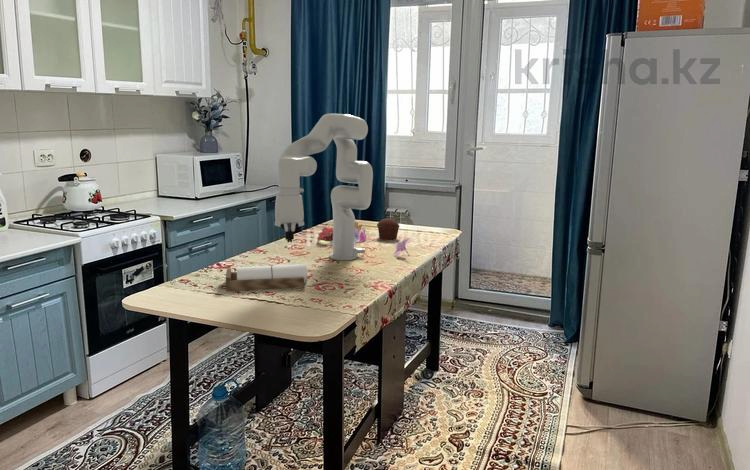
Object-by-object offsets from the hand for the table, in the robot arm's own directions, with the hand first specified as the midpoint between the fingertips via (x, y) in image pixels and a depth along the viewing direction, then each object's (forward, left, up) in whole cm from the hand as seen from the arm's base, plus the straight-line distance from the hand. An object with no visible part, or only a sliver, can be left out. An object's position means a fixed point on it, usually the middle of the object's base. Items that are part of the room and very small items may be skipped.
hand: (289, 241), depth 207 cm
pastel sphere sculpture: (-30, -66, -17) cm, 74 cm away
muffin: (-54, -67, -16) cm, 87 cm away
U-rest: (+8, 0, -16) cm, 18 cm away
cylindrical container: (-6, 0, -13) cm, 14 cm away
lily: (-52, -32, -16) cm, 63 cm away
